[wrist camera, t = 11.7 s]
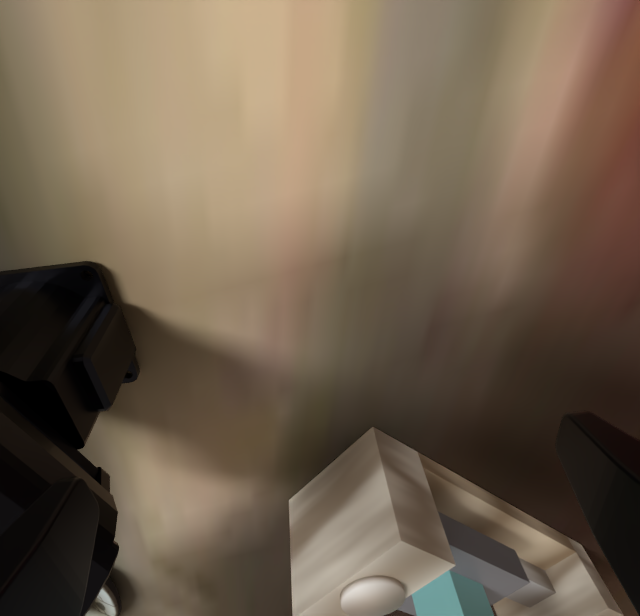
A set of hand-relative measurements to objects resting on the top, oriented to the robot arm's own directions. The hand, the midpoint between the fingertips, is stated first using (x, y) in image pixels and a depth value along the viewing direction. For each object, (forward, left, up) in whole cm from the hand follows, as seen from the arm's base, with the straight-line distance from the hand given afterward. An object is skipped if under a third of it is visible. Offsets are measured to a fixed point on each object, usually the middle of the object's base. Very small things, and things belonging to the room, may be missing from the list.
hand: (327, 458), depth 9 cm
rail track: (+8, -24, -13) cm, 28 cm away
